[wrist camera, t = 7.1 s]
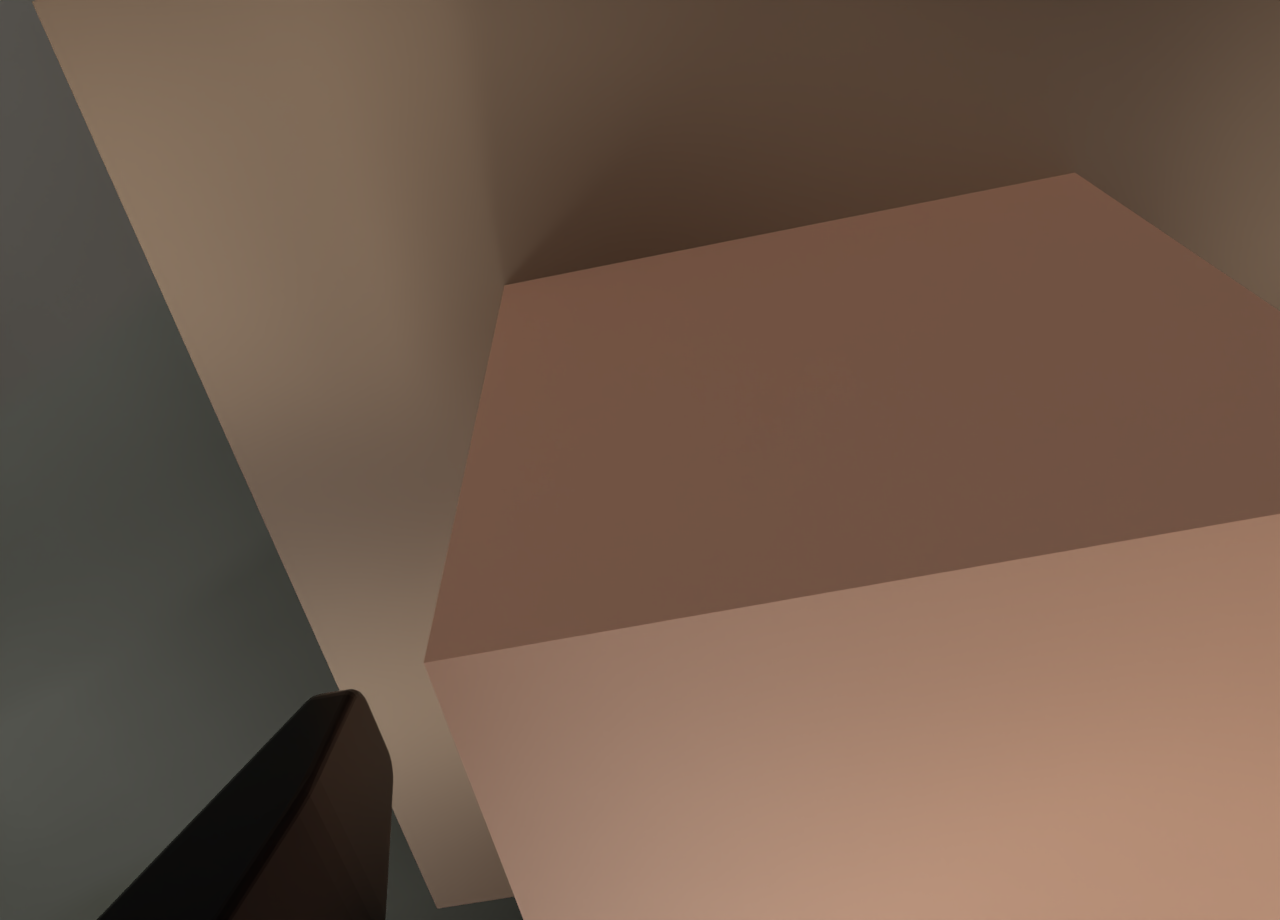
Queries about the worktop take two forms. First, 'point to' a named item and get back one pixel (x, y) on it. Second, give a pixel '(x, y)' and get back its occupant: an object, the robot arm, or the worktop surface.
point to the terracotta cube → (878, 576)
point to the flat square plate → (578, 222)
